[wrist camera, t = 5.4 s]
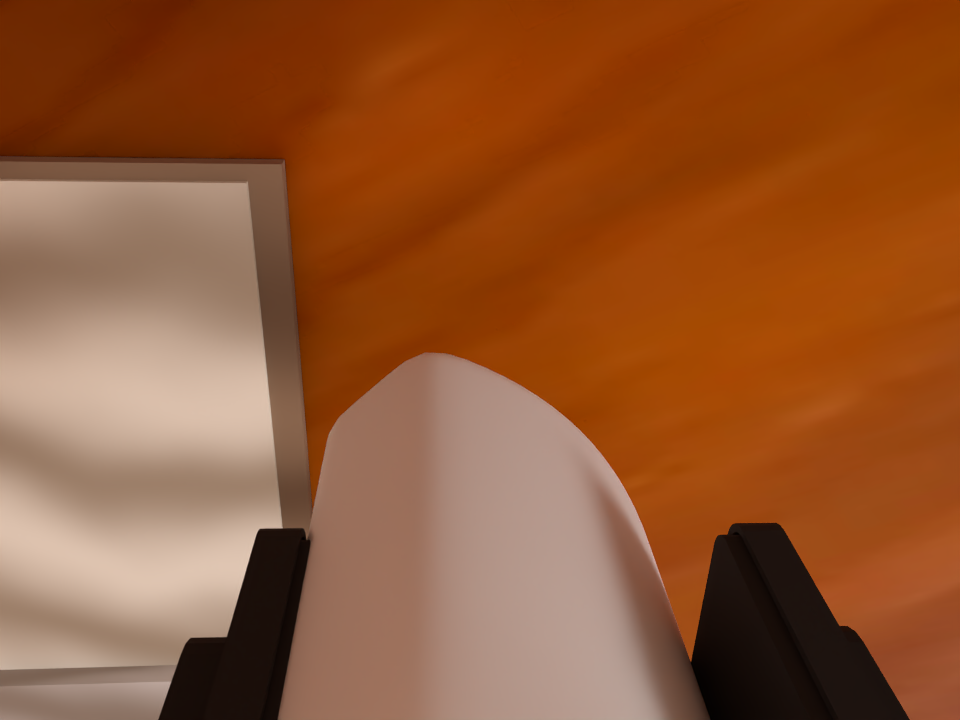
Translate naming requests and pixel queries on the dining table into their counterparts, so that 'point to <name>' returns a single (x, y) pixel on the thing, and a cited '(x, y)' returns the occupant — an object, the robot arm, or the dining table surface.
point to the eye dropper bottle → (478, 567)
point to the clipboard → (138, 418)
